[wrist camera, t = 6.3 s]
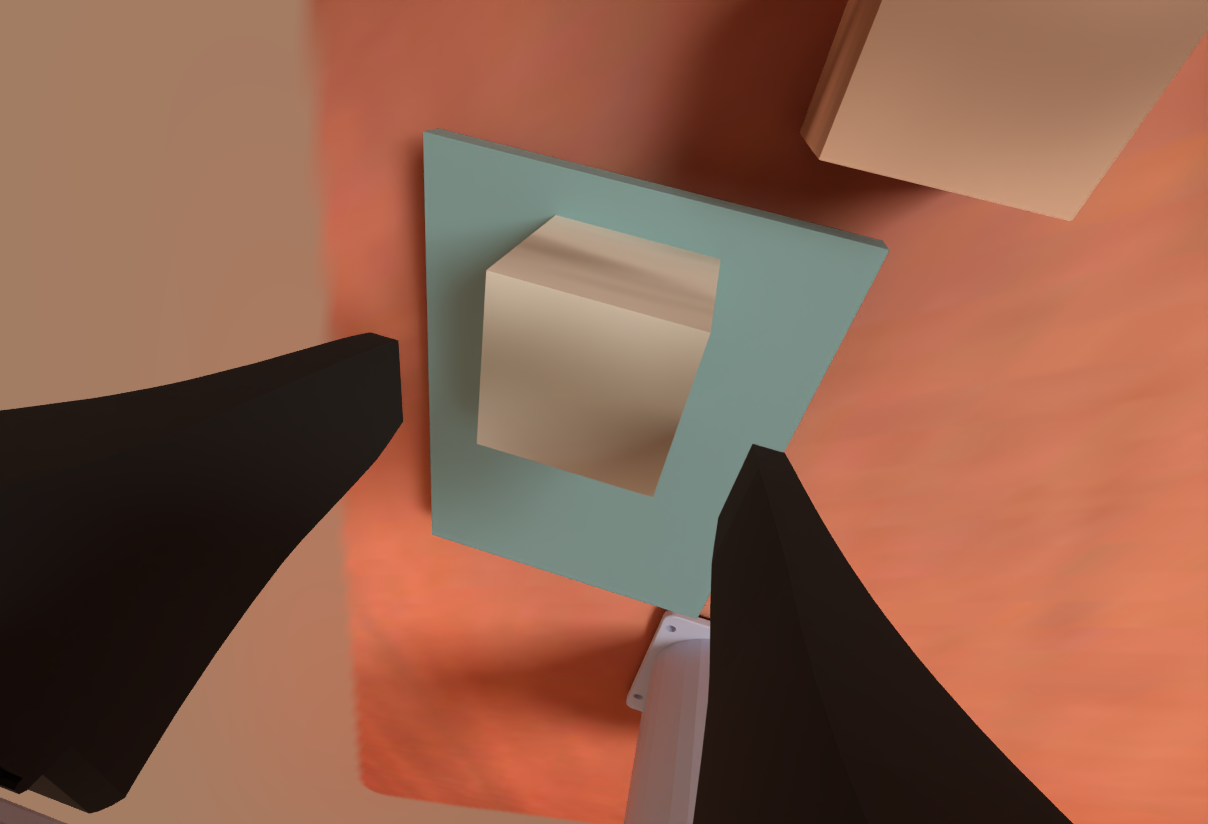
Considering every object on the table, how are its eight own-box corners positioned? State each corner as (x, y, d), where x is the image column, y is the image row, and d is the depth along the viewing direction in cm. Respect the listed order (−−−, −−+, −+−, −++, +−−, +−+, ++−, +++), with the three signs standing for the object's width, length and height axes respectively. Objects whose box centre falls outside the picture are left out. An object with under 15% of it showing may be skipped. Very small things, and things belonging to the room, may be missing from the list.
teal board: (700, 584, 23) (696, 619, 22) (451, 506, 24) (432, 534, 23) (874, 229, 14) (889, 249, 12) (455, 124, 15) (423, 131, 13)
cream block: (674, 398, 16) (652, 497, 12) (537, 358, 16) (476, 443, 13) (720, 259, 13) (710, 332, 10) (555, 215, 14) (486, 270, 10)
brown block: (978, 175, 13) (1071, 221, 9) (799, 132, 13) (818, 159, 9) (1119, -68, 10) (1330, -142, 6) (889, -114, 10) (965, -208, 7)
